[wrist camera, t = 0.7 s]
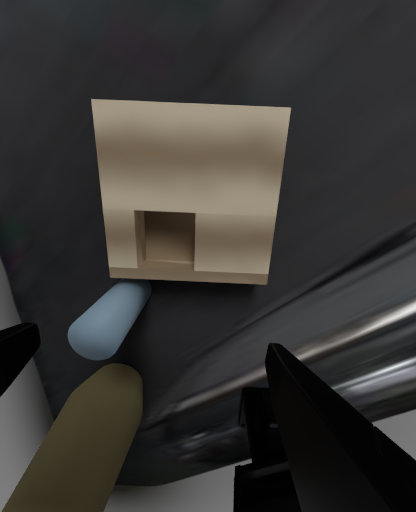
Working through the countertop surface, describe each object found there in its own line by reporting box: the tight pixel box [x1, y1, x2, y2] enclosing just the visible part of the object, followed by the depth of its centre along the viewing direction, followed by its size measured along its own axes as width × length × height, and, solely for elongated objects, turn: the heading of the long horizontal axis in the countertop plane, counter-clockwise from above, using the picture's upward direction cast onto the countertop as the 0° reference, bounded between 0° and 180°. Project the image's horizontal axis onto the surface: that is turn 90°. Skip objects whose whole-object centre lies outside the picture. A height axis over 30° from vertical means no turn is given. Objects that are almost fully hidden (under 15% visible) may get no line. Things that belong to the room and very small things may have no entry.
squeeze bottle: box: [2, 363, 143, 512], centre depth 16 cm, size 8×8×18 cm
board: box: [91, 99, 291, 285], centre depth 17 cm, size 14×14×3 cm
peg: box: [68, 278, 152, 360], centre depth 18 cm, size 4×4×8 cm
